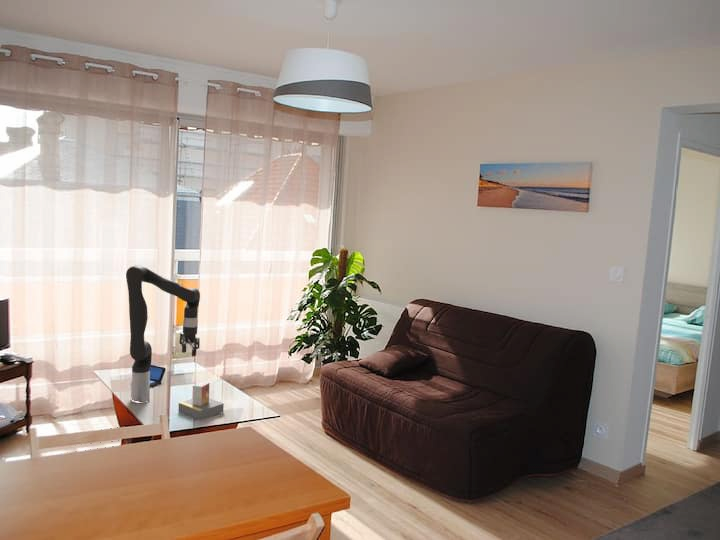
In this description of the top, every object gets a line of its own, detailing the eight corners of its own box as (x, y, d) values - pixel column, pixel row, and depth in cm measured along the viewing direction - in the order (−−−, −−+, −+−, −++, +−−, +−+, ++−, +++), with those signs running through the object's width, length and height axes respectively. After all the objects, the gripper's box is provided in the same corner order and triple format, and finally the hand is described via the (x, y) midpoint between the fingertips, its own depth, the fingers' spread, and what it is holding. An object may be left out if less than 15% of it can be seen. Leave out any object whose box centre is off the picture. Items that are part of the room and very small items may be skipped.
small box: (201, 406, 318) (201, 387, 316) (192, 404, 319) (192, 385, 318) (209, 401, 325) (209, 382, 324) (200, 400, 327) (200, 381, 325)
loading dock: (178, 412, 321) (178, 402, 321) (202, 404, 334) (202, 395, 334) (199, 420, 311) (199, 410, 311) (223, 412, 324) (223, 402, 324)
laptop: (130, 384, 362) (130, 369, 361) (145, 378, 374) (145, 363, 373) (151, 388, 356) (151, 373, 355) (166, 382, 369) (166, 367, 368)
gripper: (176, 323, 328) (175, 352, 331) (192, 328, 320) (191, 358, 322) (187, 321, 334) (186, 350, 336) (204, 326, 326) (202, 356, 328)
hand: (188, 354), depth 329 cm, fingers open, 8 cm apart
